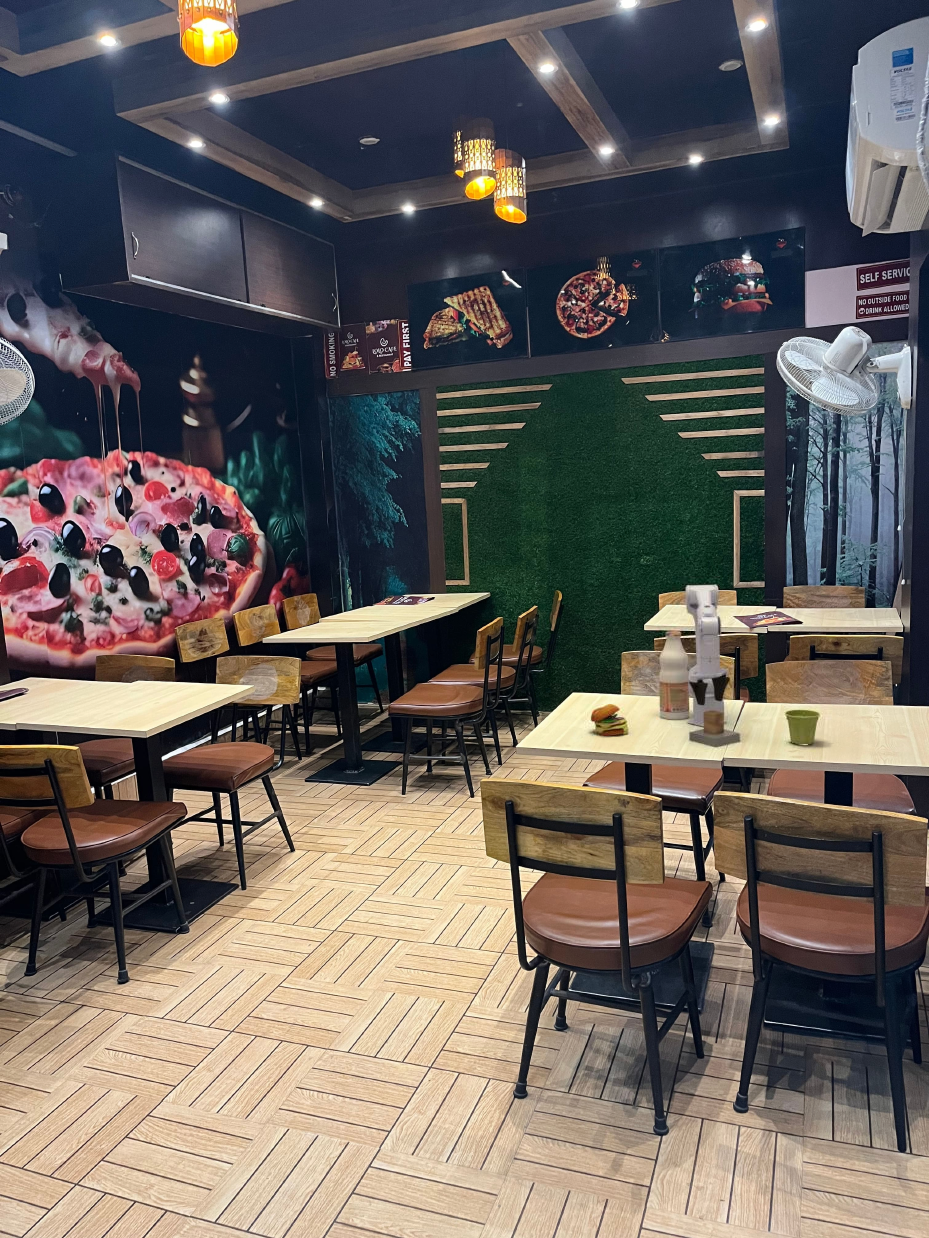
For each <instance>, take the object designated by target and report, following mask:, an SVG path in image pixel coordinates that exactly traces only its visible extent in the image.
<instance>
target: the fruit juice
mask: <svg viewBox="0 0 929 1238" xmlns="http://www.w3.org/2000/svg"><path fill="white" fill-rule="evenodd" d="M681 637H682V632H681V631H678V630H670V631H669V630H668V631H666V632H665V638H666V640H665V644H664V647H663V649H662V651H661V653H660V655H659V659H658V660H659V665H660V671H659V675H658V676H659V679H658V681H659V682H658V683H659V685H658V686H659V691H658V692H659V693H658V694H659V716H660V718H662V719H665V720H673V721H675V720H676V721H678V720H685V719H688V718H690V717H689V716H690V693H689V688H688V677H689V671H688V668H687V666H688V664H689V656H688V653H687V652H686V650H685V649H684V646H683V644H682V641H681Z"/></svg>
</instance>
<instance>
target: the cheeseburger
mask: <svg viewBox="0 0 929 1238" xmlns="http://www.w3.org/2000/svg"><path fill="white" fill-rule="evenodd" d="M620 710H621V709H620V708H619V706H617V705H616V704H614V703H613V704H612V703H609V704H606V705H604V706H601V707H598V708H596V709H593V711H592V712H591V716H590V720H591V722H592V723H593V722H594V727H595V728H594V729H595V730H596V732H597V734H598V735H601V736H604V737H605V736H606V737H608V736H615V735H616V736H617V735H627V734H628V732H629V727H628V724H627V723H628V720H627V719H626V718H625V717H623V716H619V713H618V712H619V711H620Z"/></svg>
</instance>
